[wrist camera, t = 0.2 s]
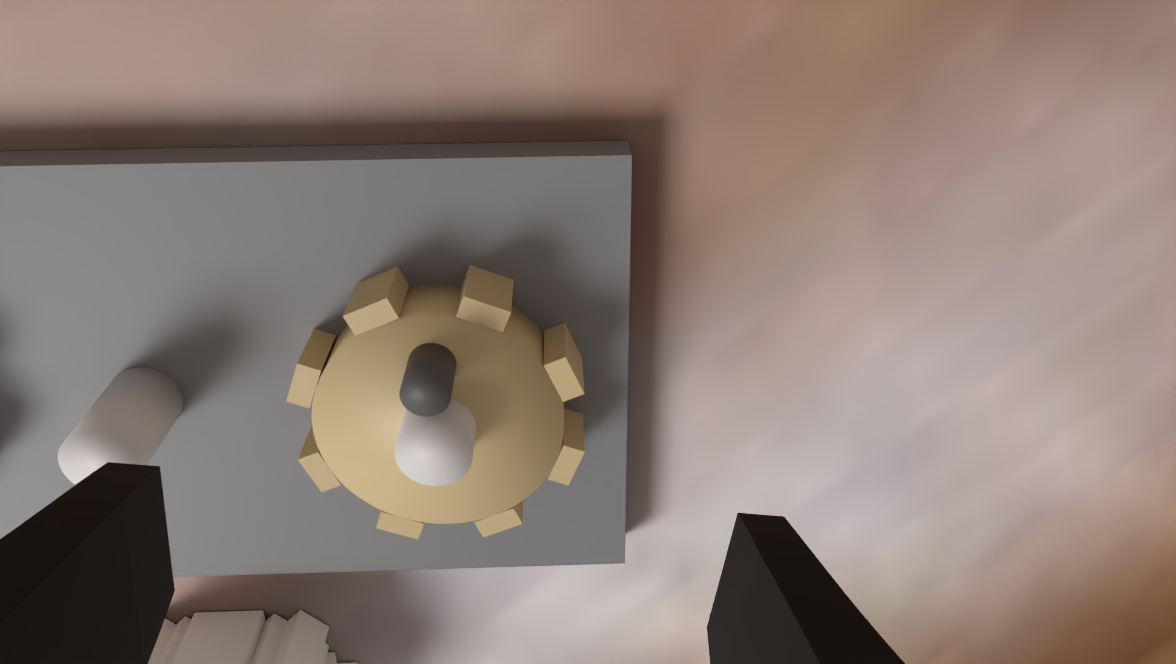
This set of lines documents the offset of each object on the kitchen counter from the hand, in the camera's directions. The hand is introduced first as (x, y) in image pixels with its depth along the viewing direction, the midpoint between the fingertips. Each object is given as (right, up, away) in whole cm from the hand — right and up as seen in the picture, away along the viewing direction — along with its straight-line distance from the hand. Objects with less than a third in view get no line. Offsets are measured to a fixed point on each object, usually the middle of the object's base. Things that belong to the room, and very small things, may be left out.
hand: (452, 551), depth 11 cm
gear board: (-8, +2, +10) cm, 13 cm away
